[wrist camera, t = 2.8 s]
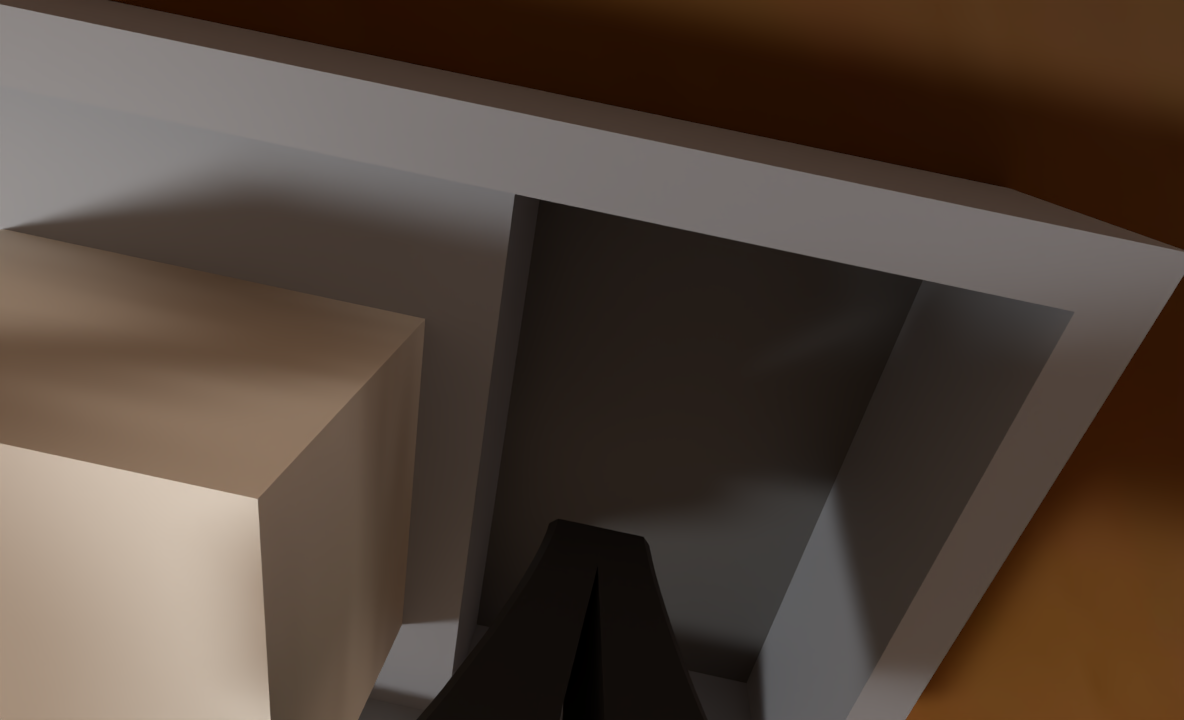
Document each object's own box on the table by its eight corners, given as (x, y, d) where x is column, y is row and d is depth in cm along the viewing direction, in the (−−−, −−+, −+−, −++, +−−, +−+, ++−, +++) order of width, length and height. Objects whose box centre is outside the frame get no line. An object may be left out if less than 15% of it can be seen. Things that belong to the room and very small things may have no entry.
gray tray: (1009, 187, 10) (1196, 254, 6) (768, 701, 15) (799, 887, 11) (-880, -207, 10) (-1666, -345, 7) (-465, 433, 15) (-785, 538, 12)
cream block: (424, 318, 9) (258, 499, 5) (401, 624, 11) (279, 887, 8) (2, 228, 9) (-459, 344, 5) (76, 553, 11) (-197, 781, 8)
